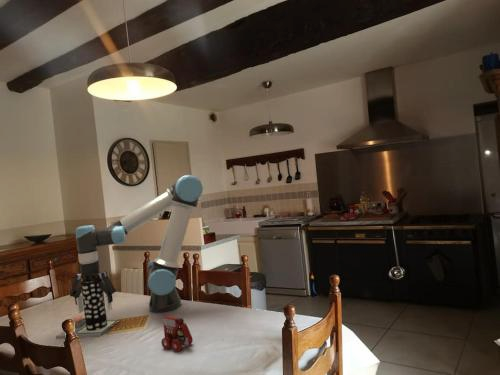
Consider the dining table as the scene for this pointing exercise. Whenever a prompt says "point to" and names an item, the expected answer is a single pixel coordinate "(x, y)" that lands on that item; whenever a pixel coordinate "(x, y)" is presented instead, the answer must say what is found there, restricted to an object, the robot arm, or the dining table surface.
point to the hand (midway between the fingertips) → (95, 311)
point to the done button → (78, 319)
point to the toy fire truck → (175, 334)
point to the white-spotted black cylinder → (93, 305)
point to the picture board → (82, 332)
